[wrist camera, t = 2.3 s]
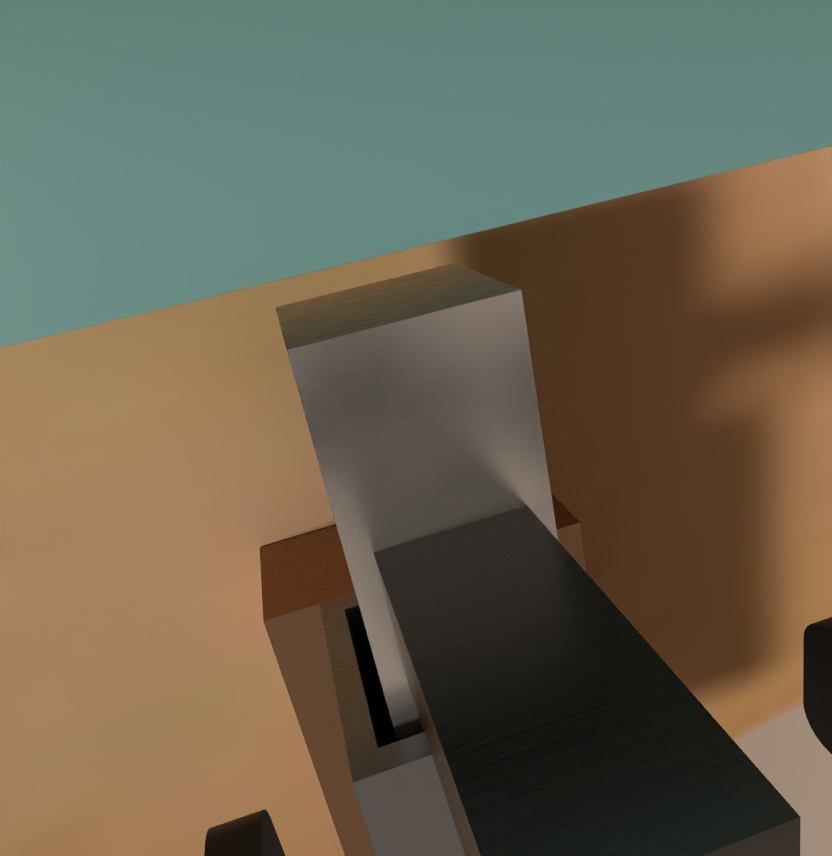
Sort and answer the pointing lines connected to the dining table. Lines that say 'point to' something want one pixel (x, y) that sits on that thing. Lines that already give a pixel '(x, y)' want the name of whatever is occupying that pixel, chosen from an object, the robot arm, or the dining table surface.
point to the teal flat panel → (359, 130)
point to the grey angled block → (502, 591)
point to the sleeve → (357, 700)
